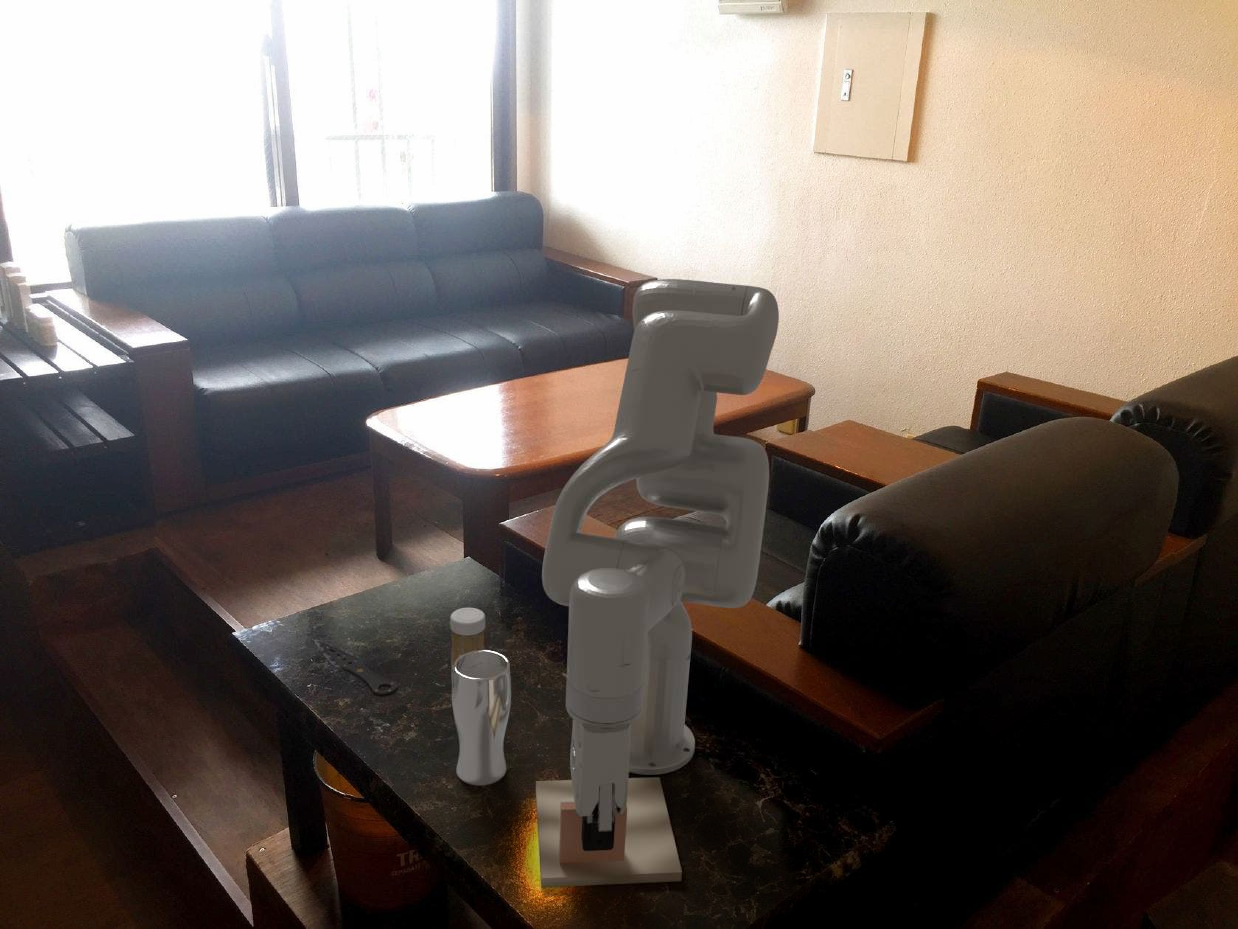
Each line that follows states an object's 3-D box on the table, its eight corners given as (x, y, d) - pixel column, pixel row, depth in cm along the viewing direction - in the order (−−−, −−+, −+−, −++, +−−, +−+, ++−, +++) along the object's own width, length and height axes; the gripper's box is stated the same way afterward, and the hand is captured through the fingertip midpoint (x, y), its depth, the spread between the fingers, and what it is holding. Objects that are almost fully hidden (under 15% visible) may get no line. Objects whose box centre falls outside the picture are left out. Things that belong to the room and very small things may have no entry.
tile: (558, 851, 111) (560, 798, 109) (622, 849, 112) (625, 796, 110) (559, 863, 110) (561, 809, 107) (624, 860, 110) (627, 807, 108)
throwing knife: (378, 701, 139) (377, 697, 139) (300, 645, 151) (299, 641, 151) (404, 689, 142) (404, 685, 142) (326, 635, 154) (325, 631, 154)
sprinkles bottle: (452, 692, 141) (451, 606, 136) (485, 692, 142) (485, 606, 137) (450, 711, 137) (449, 623, 132) (484, 711, 137) (484, 623, 133)
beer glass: (456, 792, 121) (455, 683, 116) (449, 756, 128) (448, 652, 123) (514, 784, 123) (516, 677, 118) (504, 750, 130) (506, 646, 124)
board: (535, 789, 123) (535, 781, 122) (658, 785, 124) (659, 777, 124) (541, 887, 108) (541, 878, 107) (681, 881, 110) (681, 872, 109)
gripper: (561, 653, 105) (556, 798, 112) (572, 741, 92) (566, 901, 98) (633, 652, 106) (624, 796, 113) (654, 739, 92) (643, 897, 99)
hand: (597, 844), depth 105 cm, fingers closed
